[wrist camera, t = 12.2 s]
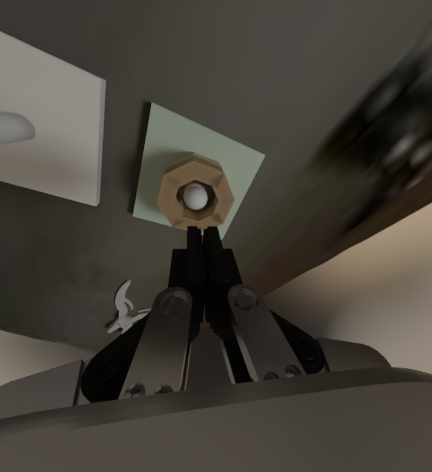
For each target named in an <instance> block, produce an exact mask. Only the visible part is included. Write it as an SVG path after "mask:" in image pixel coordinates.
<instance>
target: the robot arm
mask: <svg viewBox="0 0 432 472" xmlns="http://www.w3.org/2000/svg"><path fill="white" fill-rule="evenodd" d="M204 305H205V317H206V322H210V328H211V329H213V332H214V333H215V334H216V335H218V336H219V337H220V343H221V347H222V350H223V354H224V358H225V361H226V365H227V368H228V372H229V375H230V379H231V382H232V384H231V385H223V386H217V387H209V388H200V389H194V390H185V389H186V381H187V374H188V365H189V359H190V351H191V342H192V341H193V340H194V339H195V337H196V336H197V335H198V334H199V330H200V323H203V314H204ZM0 472H432V374H429V373H425V372H422V371H418V370H413V369H407V368H397V367H391V366H390V364H389V363H388V361H387V360H386V359H385V357H384V356H382V355H381V354H380V353H379V352H378V351H377V350H375V349H373V348H372V347H370V346H367V345H364V344H359V343H352V342H346V341H340V340H333V339H328V338H322V337H318V338H317V339H314V338H312V337H311V336H310V335H308V334H307V333H306V332H304V331H302V330H301V329H299V328H298V327H296V326H295V325H293V324H292V323H290V322H288V321H287V320H285V319H284V318H282V317H281V316H279V315H277V314H276V313H274V312H273V311H271V310H270V309H268V307H267V305H266V303H265V301H264V300H263V298H262V296H261V295H260V293H259V292H258V291H257V290H256V289H255V288H253V287H251V286H249V285H245V284H243V283H242V280H241V277H240V274H239V270H238V267H237V264H236V261H235V258H234V255H233V252H232V249H223V246H222V243H221V239H220V235H219V231H218V227H217V226H207V229H204V231H203V244H202V234H201V229H197V226H187V249H173V251H172V260H171V268H170V276H169V284H168V288H167V289H165V290H163V291H161V292H160V293H159V294H158V295H157V297H156V299H155V300H154V303H153V306H152V309H151V311H150V312H149V313H148V314H147V315H145V316H144V317H143V318H142V319H140V320H139V321H138V322H137V323H135V324H134V325H133V326H131V327H130V328H129V329H128V330H126V331H125V332H124V333H123V334H121V335H120V336H119V337H118V338H116V339H115V340H114V341H113V342H111V343H110V344H109V345H108V346H106V347H105V348H104V349H103V350H101V351H100V352H99V353H98V354H97V355H96V356H94V357H93V359H90V360H87V361H83V360H78V361H75V362H71V363H69V364H65V365H62V366H59V367H56V368H52V369H49V370H46V371H43V372H40V373H36V374H33V375H30V376H27V377H24V378H21V379H17V380H14V381H11V382H9V383H6V384H4V385H2V386H0Z"/></svg>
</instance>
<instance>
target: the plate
mask: <svg viewBox="0 0 432 472" xmlns="http://www.w3.org/2000/svg"><path fill="white" fill-rule="evenodd" d="M192 152H195V153H197V154H200V155H202V156H205V157H207V158H210V159H212V160H214V161H217V162H219V164H220V165H221V167H222V169H223V171H224V173H225V176H226V178H227V181H228V183H229V186H230V189H231V191H232V194H233V196H234V199H235V201H234V203H233V205H232V207H231V209H230V211H229V213H228V215H227V217H226V219H225V221H224V223H223V224H222V225H219V226H217V227H218V231H219V235H220V239H221V240H222V239H223V237H224V235H225V233H226V231H227V229H228V227H229V225H230V223H231V221H232V219H233V217H234V215H235V213H236V212H237V210H238V208H239V206H240V204H241V202H242V200H243V198H244V196H245V194H246V192H247V190H248V188H249V186H250V184H251V182H252V180H253V178H254V176H255V174H256V173H257V171H258V169H259V167H260V165H261V163H262V161H263V159H264V157H265V155H264V154H262V153H260V152H258V151H256V150H254V149H252V148H249V147H247V146H245V145H243V144H241V143H239V142H237V141H235V140H232V139H230V138H228V137H226V136H224V135H222V134H220V133H217V132H215V131H213V130H211V129H209V128H207V127H205V126H202V125H200V124H198V123H196V122H194V121H192V120H190V119H187V118H185V117H183V116H181V115H179V114H177V113H175V112H172V111H170V110H168V109H166V108H164V107H162V106H160V105H157V104H155V103H153V102H152V104H151V110H150V116H149V122H148V128H147V134H146V140H145V146H144V152H143V158H142V164H141V170H140V176H139V182H138V188H137V194H136V200H135V206H134V212H133V216H134V217H138V218H142V219H145V220H149V221H153V222H157V223H160V224H164V225H168V226H172V225H171V224H170V223H169V221H168V220H167V218H166V217H165V215H164V214H163V212H162V211H161V210H160V208H159V207H158V205H157V201H158V196H159V192H160V188H161V184H162V179H163V175H164V173H165V171H166V168H167V166H168V164H169V163H171V162H173V161H175V160H177V159H179V158H181V157H184V156H186V155H188V154H190V153H192ZM178 191H179V193H180V195H181V197H182V198H183V200H184V201H185V204H186V205H187V206H188V207H189V208H191V209H194V210H198V209H201V208H203V207H204V206H205V205H206V203H207V200H209V199H210V196H211V194H212V191H213V187H212V186H211V185H208V184H205V183H203V182H200V181H197V180H193V181H191V182H189V183H187V184H185V185H183V186H180V187H179V188H178ZM201 234H202V235H203V233H201Z"/></svg>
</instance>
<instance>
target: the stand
mask: <svg viewBox="0 0 432 472" xmlns="http://www.w3.org/2000/svg"><path fill="white" fill-rule="evenodd" d="M105 89H106V80H104V79H102V78H100V77H98V76H95V75H93V74H91V73H89V72H87V71H85V70H83V69H80V68H78V67H76V66H74V65H72V64H70V63H68V62H65V61H63V60H61V59H59V58H57V57H55V56H53V55H51V54H48V53H46V52H44V51H42V50H40V49H38V48H36V47H33V46H31V45H29V44H27V43H25V42H23V41H21V40H18V39H16V38H14V37H12V36H10V35H8V34H6V33H3V32H1V31H0V181H2V182H6V183H10V184H14V185H18V186H21V187H25V188H29V189H33V190H36V191H40V192H44V193H48V194H51V195H55V196H59V197H63V198H66V199H70V200H74V201H78V202H81V203H85V204H89V205H93V206H97V205H98V204H99V203H100V185H101V166H102V146H103V127H104V108H105Z"/></svg>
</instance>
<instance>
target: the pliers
mask: <svg viewBox="0 0 432 472" xmlns="http://www.w3.org/2000/svg"><path fill="white" fill-rule="evenodd" d="M130 283H131V280H128V281H126V282H125V283H124V284H123V285H122V286H121V287H120V289H119V291H118V292H117V295H116V300H115V304H116V308H117V309H118V310H119V318H117V319H116V320H115V321H114V322H113V323H112V324H111V325H110V326H109V328H108V331H107V332H108V333H111V332H112V331H114V330H116V329H118V328H119V327H121V328H123V331H122V334H123V333H124V332H125V331H126V330H128V329H129V328H130V327H131V326H132V323H133V322H135V321H136V320H139V319H142V318H143V317H144V316H145V315H147V314H148V313H149V312H150V311H148V312H143V313H138V314H137V315H135V316H133V317H131V316H126V314H127V311H128V309H127V307H126V305H125V303H124V302H126V303H128V304H129V305H130V307H131V310H133V305H132V303H131V302H130V301H129V300H128V299H127V298H125V296H124V295H125V292H126V290H127V288H128V286H129V284H130ZM151 309H152V308H143V309H140V310H138V312H141V311H146V310H151Z"/></svg>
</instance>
